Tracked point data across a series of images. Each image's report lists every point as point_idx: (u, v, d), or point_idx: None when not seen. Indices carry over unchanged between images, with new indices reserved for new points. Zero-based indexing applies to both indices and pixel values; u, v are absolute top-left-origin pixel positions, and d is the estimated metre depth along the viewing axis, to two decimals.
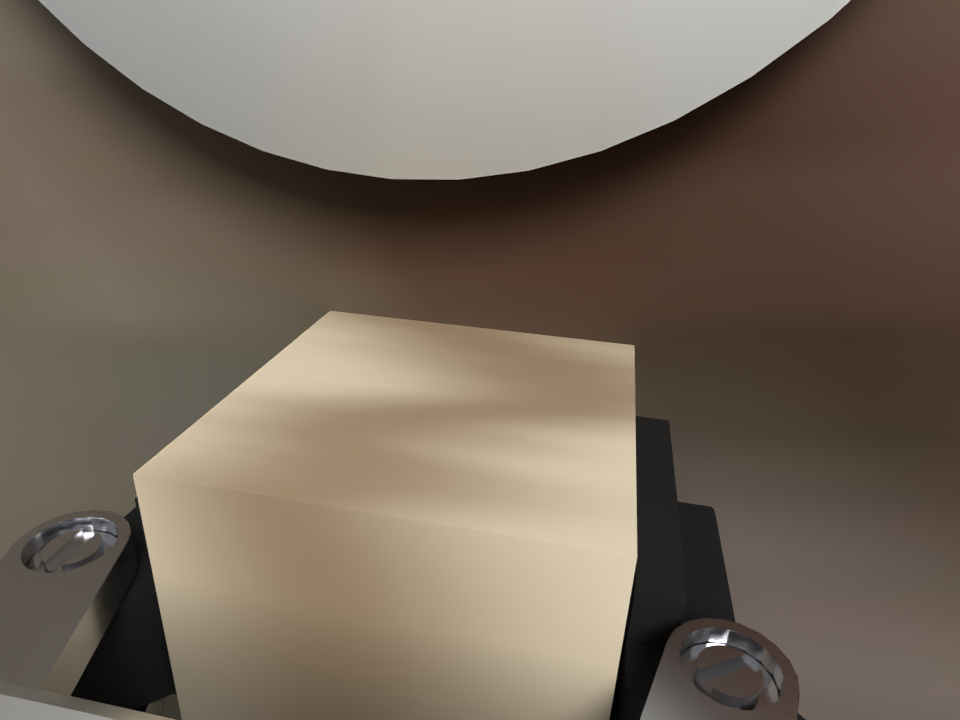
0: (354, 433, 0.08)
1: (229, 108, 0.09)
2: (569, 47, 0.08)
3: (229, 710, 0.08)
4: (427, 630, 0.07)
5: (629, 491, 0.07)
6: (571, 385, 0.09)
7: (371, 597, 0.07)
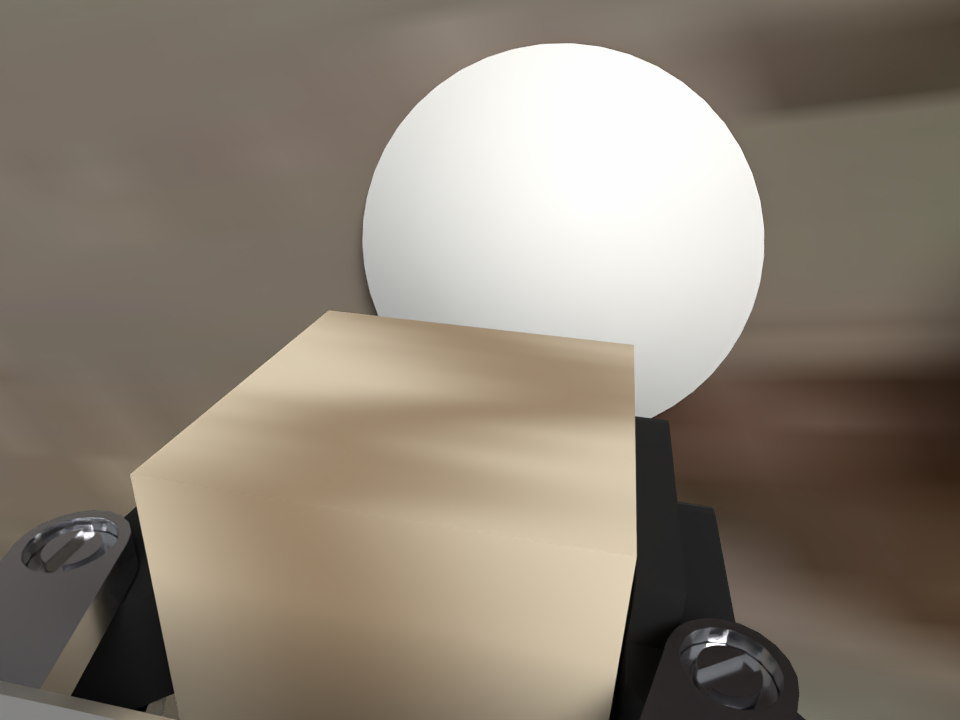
0: (354, 432, 0.08)
1: None
2: None
3: (227, 711, 0.08)
4: (426, 630, 0.07)
5: (628, 491, 0.07)
6: (571, 385, 0.09)
7: (369, 597, 0.07)
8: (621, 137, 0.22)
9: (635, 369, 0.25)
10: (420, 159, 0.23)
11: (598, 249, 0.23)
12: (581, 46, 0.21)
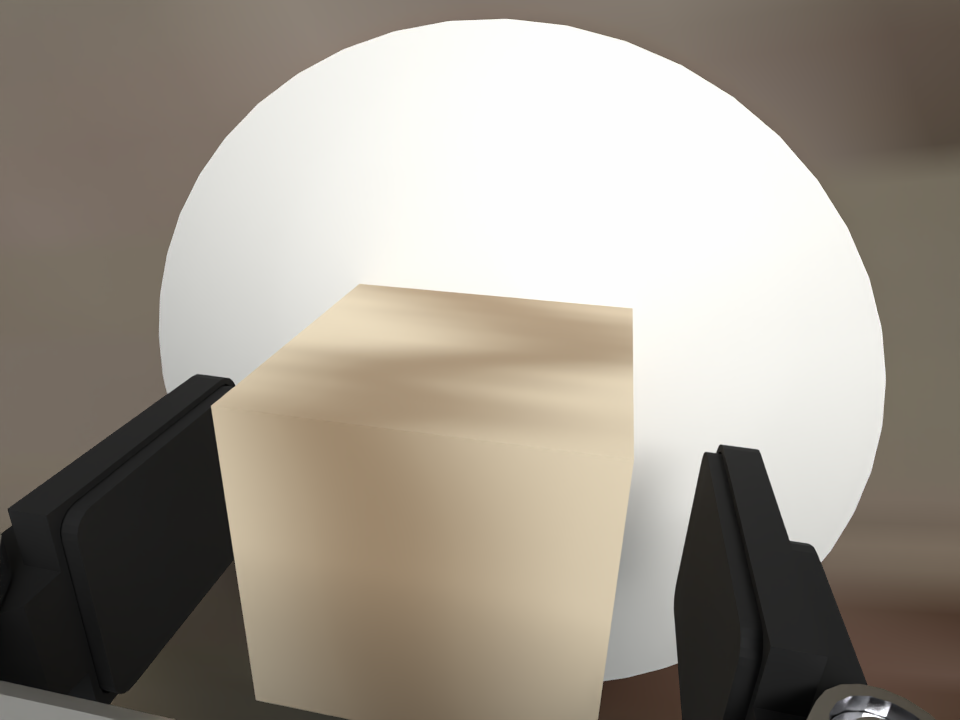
0: (393, 375, 0.09)
1: None
2: None
3: (287, 617, 0.09)
4: (459, 533, 0.08)
5: (627, 415, 0.08)
6: (577, 339, 0.10)
7: (411, 507, 0.08)
8: (610, 204, 0.11)
9: (637, 595, 0.14)
10: (243, 236, 0.13)
11: None
12: (528, 25, 0.10)
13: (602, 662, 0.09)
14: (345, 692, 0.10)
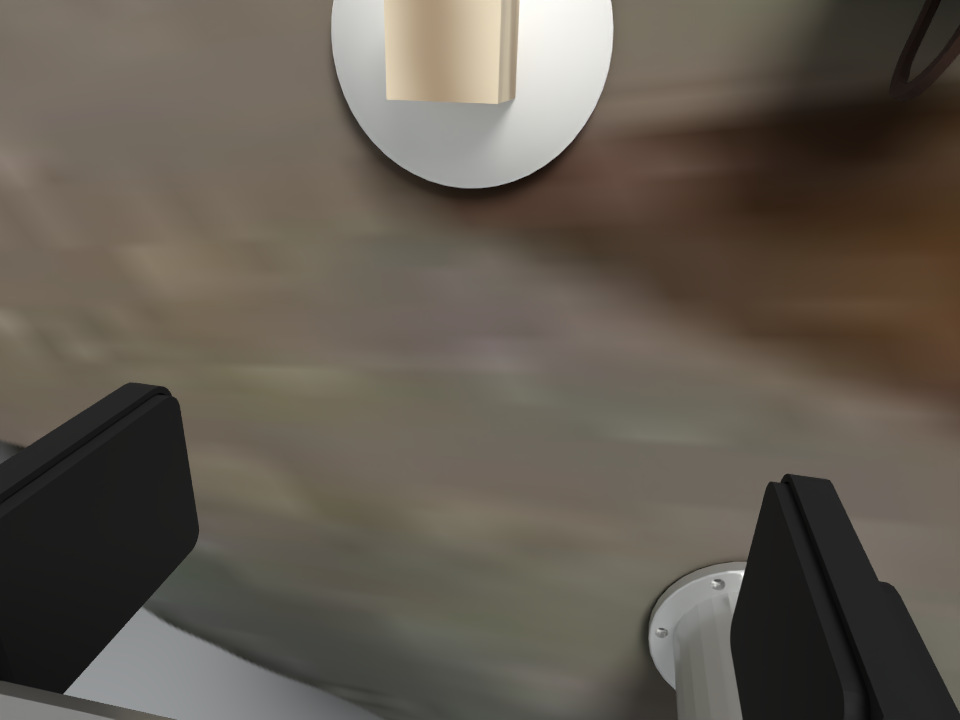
0: None
1: (421, 170, 0.36)
2: (504, 158, 0.35)
3: (400, 55, 0.29)
4: (455, 7, 0.28)
5: None
6: None
7: None
8: None
9: (530, 126, 0.34)
10: None
11: None
12: None
13: (498, 52, 0.28)
14: (418, 87, 0.30)
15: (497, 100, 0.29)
